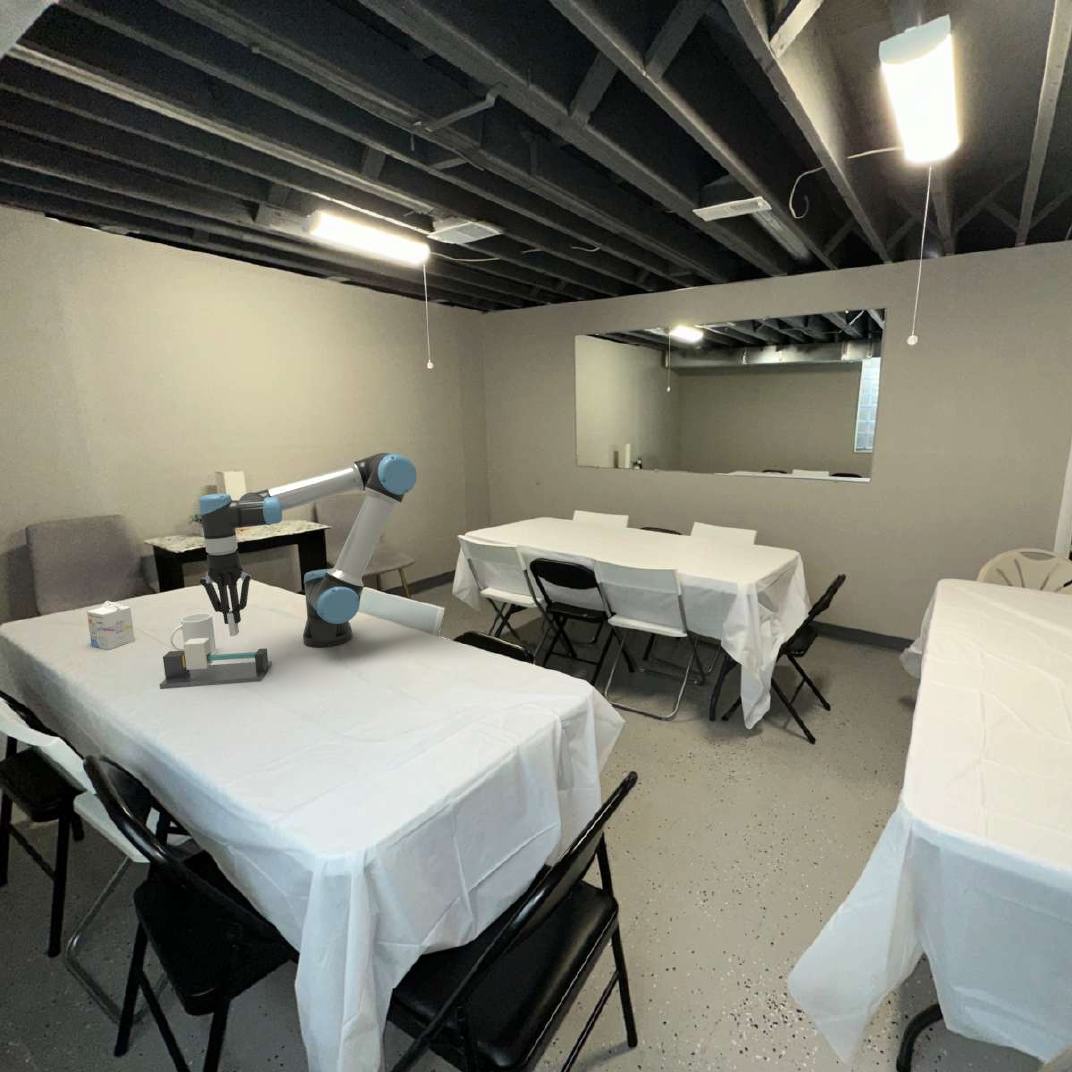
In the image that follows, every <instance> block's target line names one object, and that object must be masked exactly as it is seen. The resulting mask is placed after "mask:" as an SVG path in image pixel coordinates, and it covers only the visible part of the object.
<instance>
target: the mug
mask: <svg viewBox="0 0 1072 1072" xmlns="http://www.w3.org/2000/svg"><path fill="white" fill-rule="evenodd" d="M180 623H181V624H180V625H179V626H177V627H176V628H175V629H173V631H172V633H171V634H170V638H169V640H170V642H169V643H170V645H171V647H173V649H174V650H175V651H183V650H184V646H183V647H178V646H177V645H175V644H174V640H173V638H174V636H175V635H176V633H177V632H178V631H179V630H181V631H182V637H183V639H182V641H183V645H184V644H185V643H186V642H187V641H188V640H189V639H197V638H210V645H211V653H212V655H218V654H217V653H218V650H217V647H216V646H217V645H216V638H215V629H214V628H215V627H214V620H213V615H212V614H211V613H208V612H207V613H206V612H204V613H203V612H202V613H201V612H200V613H195V614H189V615H187V616H184V617H182V618H181V619H180Z"/></svg>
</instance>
